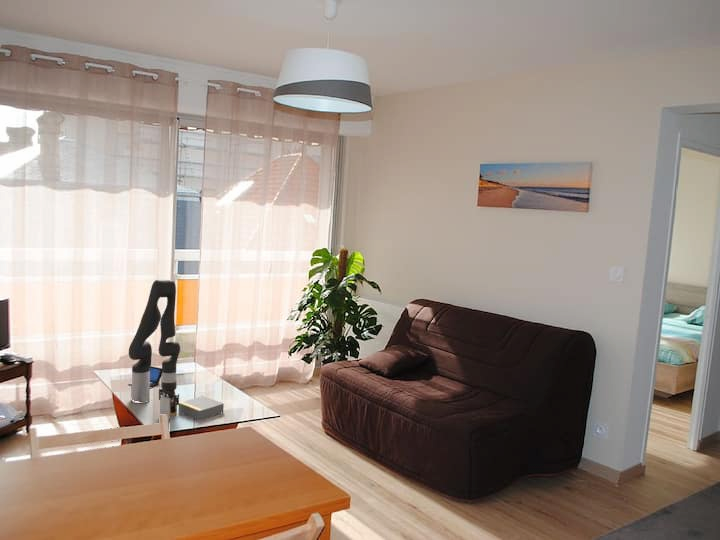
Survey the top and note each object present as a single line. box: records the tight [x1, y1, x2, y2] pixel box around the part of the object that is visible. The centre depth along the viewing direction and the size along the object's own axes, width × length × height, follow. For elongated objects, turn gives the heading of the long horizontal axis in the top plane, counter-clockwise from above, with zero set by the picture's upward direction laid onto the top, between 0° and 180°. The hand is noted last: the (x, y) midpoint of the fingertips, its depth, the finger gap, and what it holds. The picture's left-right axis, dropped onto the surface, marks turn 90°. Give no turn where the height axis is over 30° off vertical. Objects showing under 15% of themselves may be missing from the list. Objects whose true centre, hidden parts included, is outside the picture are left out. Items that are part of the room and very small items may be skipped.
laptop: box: [150, 365, 162, 388], centre depth 363 cm, size 16×13×9 cm
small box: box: [159, 396, 178, 420], centre depth 315 cm, size 8×6×10 cm
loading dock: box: [178, 395, 225, 421], centre depth 323 cm, size 17×16×5 cm
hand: (168, 410), depth 315 cm, fingers closed on small box, 7 cm apart
